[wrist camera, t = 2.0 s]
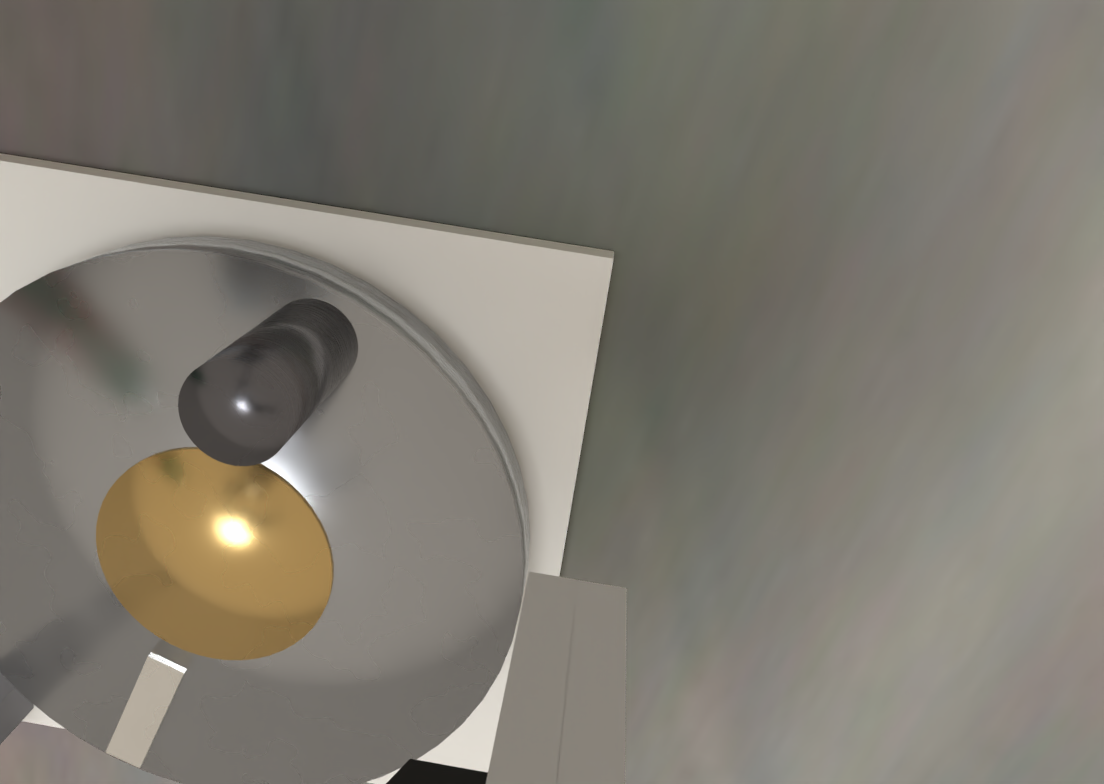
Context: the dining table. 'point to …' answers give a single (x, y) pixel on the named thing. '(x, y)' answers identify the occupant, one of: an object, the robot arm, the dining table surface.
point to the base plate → (401, 273)
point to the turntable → (248, 516)
